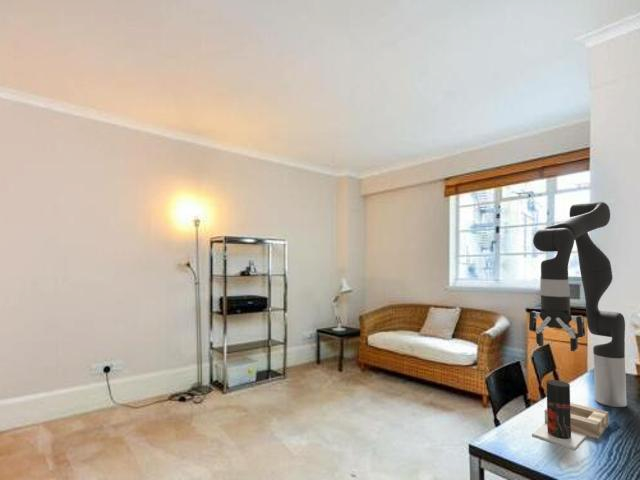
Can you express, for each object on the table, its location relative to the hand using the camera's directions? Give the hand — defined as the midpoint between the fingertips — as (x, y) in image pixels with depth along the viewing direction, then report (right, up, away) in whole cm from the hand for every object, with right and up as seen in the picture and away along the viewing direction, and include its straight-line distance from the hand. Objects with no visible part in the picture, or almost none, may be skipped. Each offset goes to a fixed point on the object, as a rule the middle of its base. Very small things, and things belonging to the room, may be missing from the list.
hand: (556, 348), depth 113 cm
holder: (+11, -26, +7) cm, 29 cm away
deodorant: (0, -26, -1) cm, 26 cm away
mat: (0, -26, -1) cm, 26 cm away
